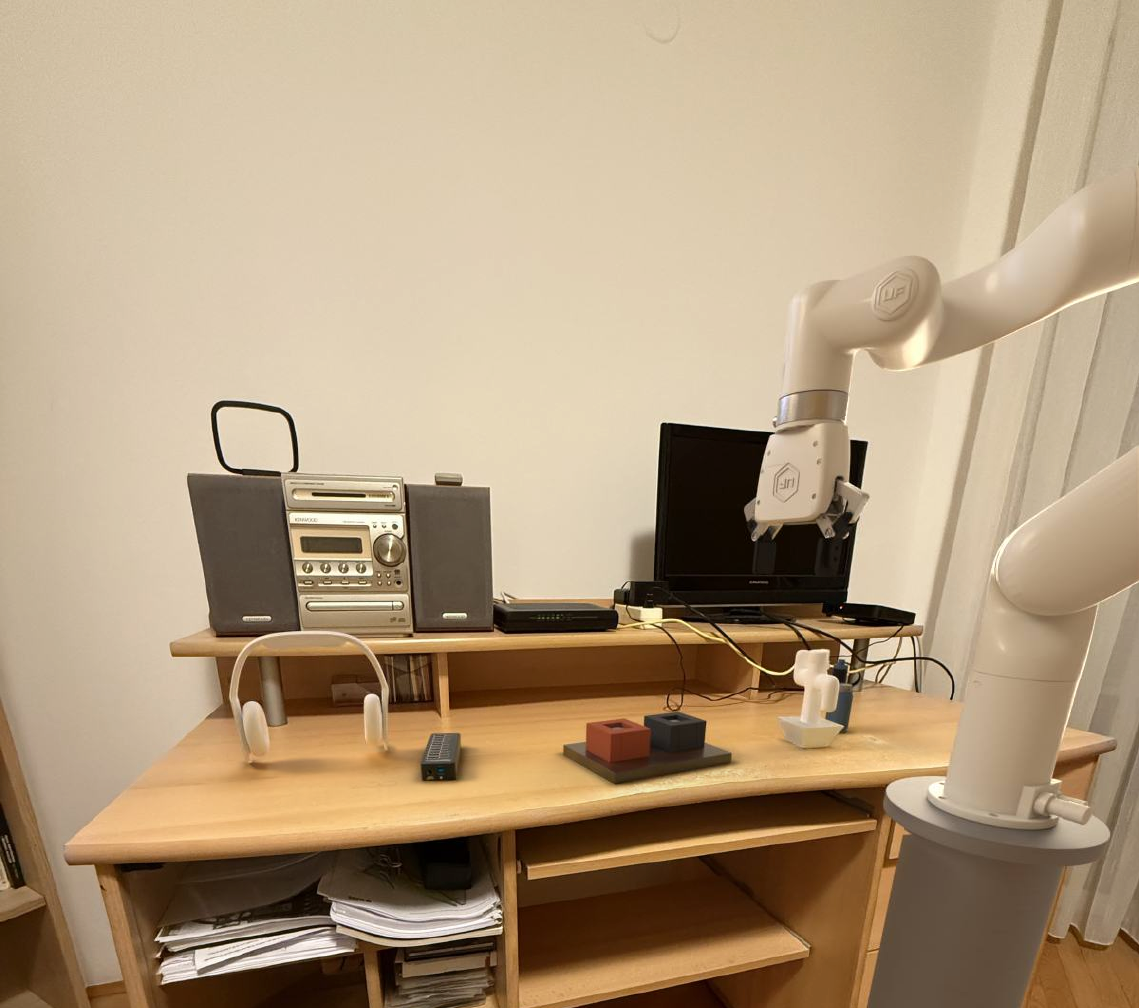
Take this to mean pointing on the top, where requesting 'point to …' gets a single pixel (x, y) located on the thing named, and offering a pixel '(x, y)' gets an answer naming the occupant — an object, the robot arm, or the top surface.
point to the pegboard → (647, 761)
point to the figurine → (813, 701)
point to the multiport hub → (441, 757)
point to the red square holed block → (617, 740)
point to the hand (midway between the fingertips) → (792, 574)
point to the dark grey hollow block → (676, 731)
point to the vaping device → (842, 697)
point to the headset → (252, 715)
